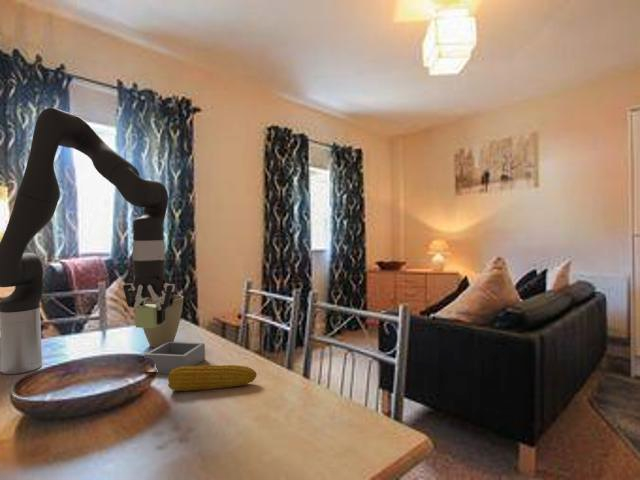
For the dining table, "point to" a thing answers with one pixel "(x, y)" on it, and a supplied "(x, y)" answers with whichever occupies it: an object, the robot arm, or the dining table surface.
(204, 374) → the food
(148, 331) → the plant pot
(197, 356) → the bin
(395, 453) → the dining table surface
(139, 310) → the green block
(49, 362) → the dining table surface
